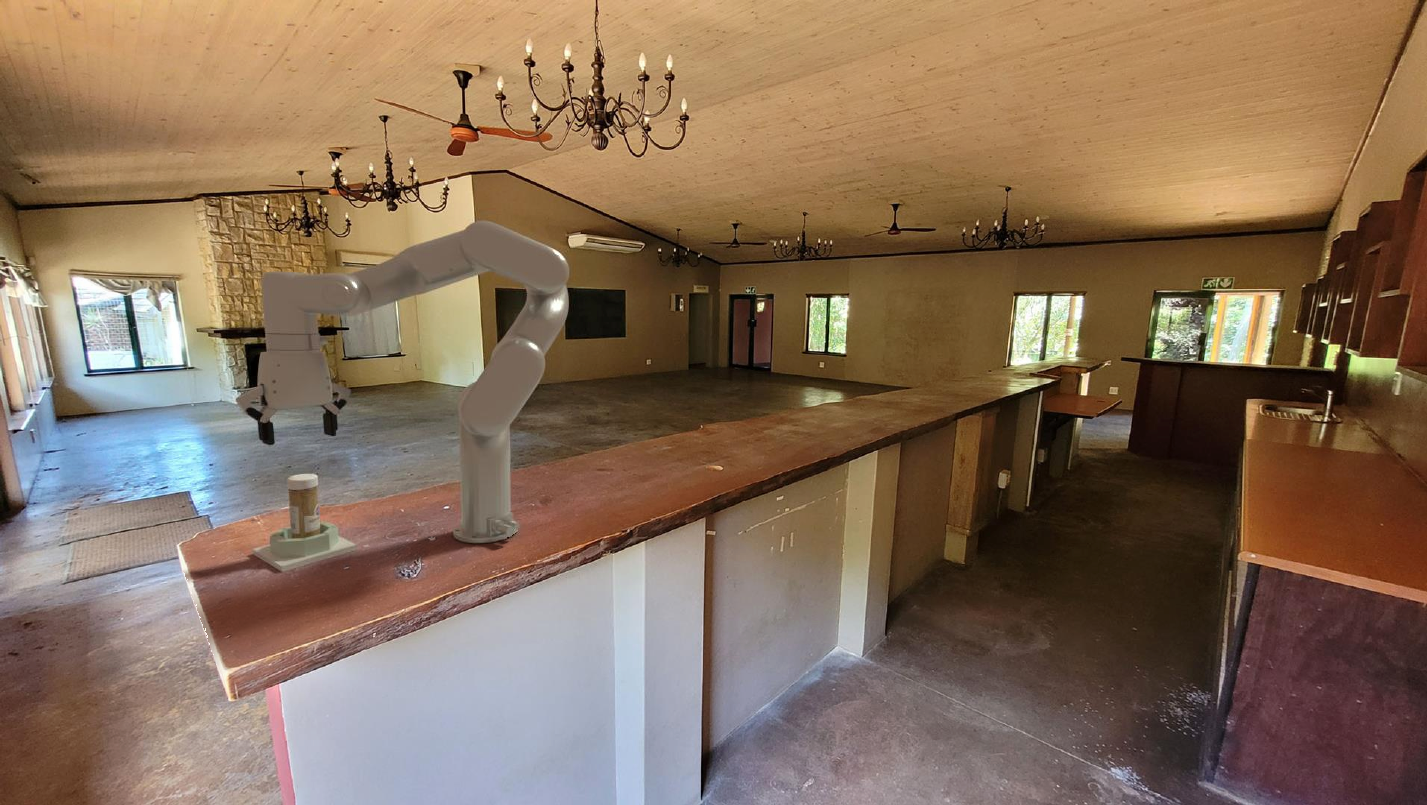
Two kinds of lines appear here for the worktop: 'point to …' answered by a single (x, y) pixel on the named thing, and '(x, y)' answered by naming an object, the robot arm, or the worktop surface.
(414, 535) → the worktop surface
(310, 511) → the sprinkles bottle
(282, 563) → the bottle collar
